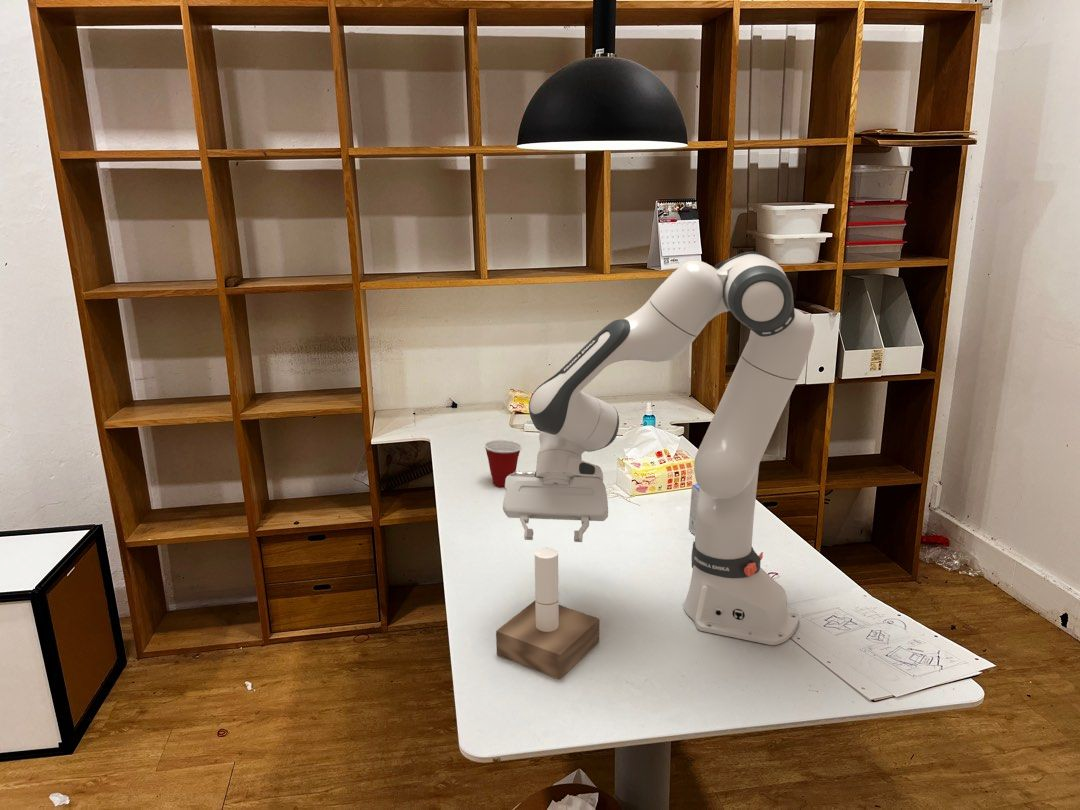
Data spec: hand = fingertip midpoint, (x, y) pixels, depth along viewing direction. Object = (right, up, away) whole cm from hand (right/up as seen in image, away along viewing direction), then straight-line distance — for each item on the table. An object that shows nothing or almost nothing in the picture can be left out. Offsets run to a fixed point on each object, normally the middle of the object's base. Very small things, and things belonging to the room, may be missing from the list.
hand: (553, 540), depth 151 cm
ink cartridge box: (+38, -7, +45) cm, 59 cm away
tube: (-1, -16, -1) cm, 16 cm away
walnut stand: (-1, -20, +1) cm, 20 cm away
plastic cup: (-13, +3, +78) cm, 80 cm away
